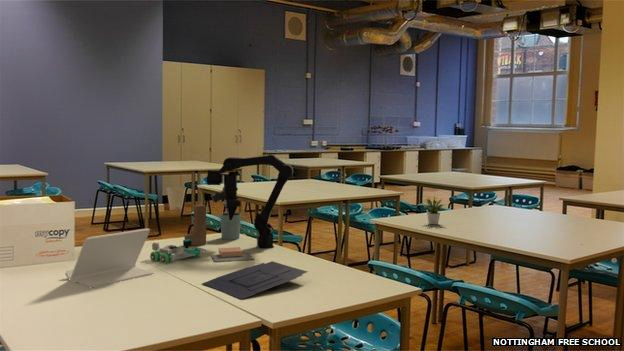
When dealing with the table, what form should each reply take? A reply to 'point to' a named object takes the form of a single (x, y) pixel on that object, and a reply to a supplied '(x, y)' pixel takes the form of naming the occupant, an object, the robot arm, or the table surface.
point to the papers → (255, 279)
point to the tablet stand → (109, 259)
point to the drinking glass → (230, 226)
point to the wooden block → (198, 226)
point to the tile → (230, 252)
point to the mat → (232, 258)
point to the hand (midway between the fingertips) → (230, 219)
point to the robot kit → (174, 252)
